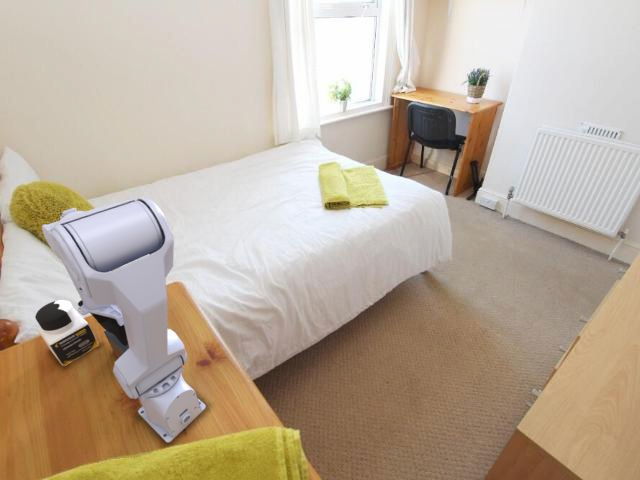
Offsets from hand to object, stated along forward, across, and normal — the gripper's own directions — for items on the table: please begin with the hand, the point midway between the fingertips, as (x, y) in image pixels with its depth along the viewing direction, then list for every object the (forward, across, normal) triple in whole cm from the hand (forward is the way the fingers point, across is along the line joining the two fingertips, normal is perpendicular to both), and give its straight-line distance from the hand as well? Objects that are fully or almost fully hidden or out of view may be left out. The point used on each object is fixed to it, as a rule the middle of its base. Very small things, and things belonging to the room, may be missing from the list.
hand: (118, 333), depth 66 cm
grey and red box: (+2, 0, +2) cm, 3 cm away
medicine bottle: (+8, -13, -5) cm, 16 cm away
